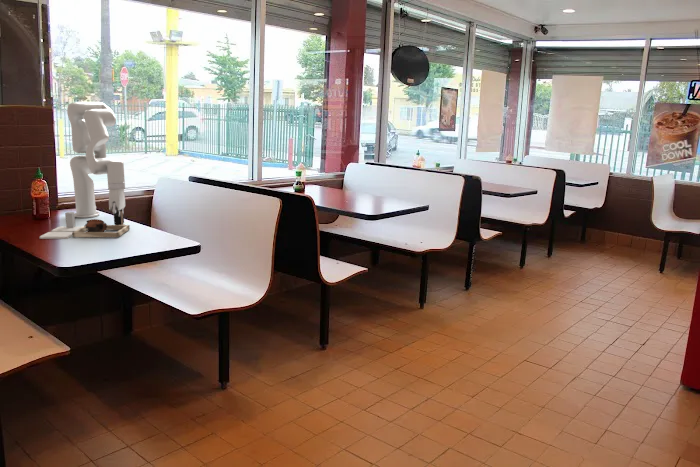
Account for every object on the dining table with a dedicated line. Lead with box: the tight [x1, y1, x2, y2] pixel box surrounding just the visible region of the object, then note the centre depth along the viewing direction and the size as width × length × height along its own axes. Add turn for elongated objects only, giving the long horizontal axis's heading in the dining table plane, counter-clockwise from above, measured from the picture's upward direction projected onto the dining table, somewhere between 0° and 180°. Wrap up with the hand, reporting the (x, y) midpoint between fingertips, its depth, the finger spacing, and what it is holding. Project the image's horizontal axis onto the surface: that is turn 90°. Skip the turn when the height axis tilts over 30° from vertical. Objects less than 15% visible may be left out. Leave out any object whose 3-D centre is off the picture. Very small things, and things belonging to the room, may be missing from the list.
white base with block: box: [39, 211, 83, 240], centre depth 273 cm, size 21×12×8 cm, turn 3°
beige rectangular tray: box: [71, 209, 131, 238], centre depth 277 cm, size 24×20×8 cm
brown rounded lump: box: [84, 218, 108, 232], centre depth 272 cm, size 12×10×8 cm
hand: (119, 223), depth 287 cm, fingers closed on beige rectangular tray, 3 cm apart
